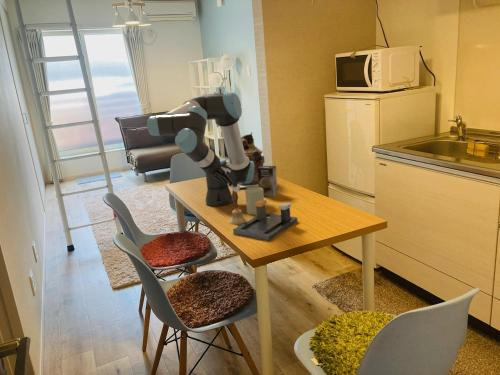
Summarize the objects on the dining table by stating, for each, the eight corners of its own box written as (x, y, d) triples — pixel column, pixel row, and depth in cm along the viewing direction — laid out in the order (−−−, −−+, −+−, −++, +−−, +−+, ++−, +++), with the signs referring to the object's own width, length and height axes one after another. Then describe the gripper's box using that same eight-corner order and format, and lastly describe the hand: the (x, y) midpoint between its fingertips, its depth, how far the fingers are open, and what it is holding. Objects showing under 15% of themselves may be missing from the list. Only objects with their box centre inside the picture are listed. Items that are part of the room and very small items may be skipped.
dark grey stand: (233, 233, 174) (231, 212, 172) (263, 215, 193) (262, 196, 190) (268, 241, 164) (267, 218, 161) (297, 221, 182) (296, 201, 179)
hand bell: (235, 226, 183) (232, 192, 179) (225, 221, 190) (222, 189, 185) (250, 221, 188) (247, 188, 183) (240, 217, 194) (237, 185, 190)
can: (267, 208, 203) (265, 186, 200) (261, 215, 194) (260, 191, 191) (250, 208, 206) (248, 185, 203) (244, 214, 198) (242, 191, 194)
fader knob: (256, 220, 183) (254, 202, 181) (262, 217, 187) (260, 199, 185) (262, 221, 182) (260, 203, 179) (267, 218, 185) (266, 200, 183)
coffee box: (259, 195, 226) (256, 167, 221) (262, 192, 231) (260, 165, 227) (274, 196, 222) (272, 168, 218) (277, 192, 228) (276, 165, 223)
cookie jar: (230, 180, 264) (225, 132, 255) (267, 176, 266) (263, 128, 257) (233, 190, 240) (228, 137, 231) (273, 186, 242) (270, 133, 233)
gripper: (190, 167, 152) (222, 195, 169) (216, 169, 144) (247, 199, 162) (197, 150, 154) (228, 180, 172) (223, 152, 147) (253, 183, 164)
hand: (237, 189), depth 167 cm, fingers closed
